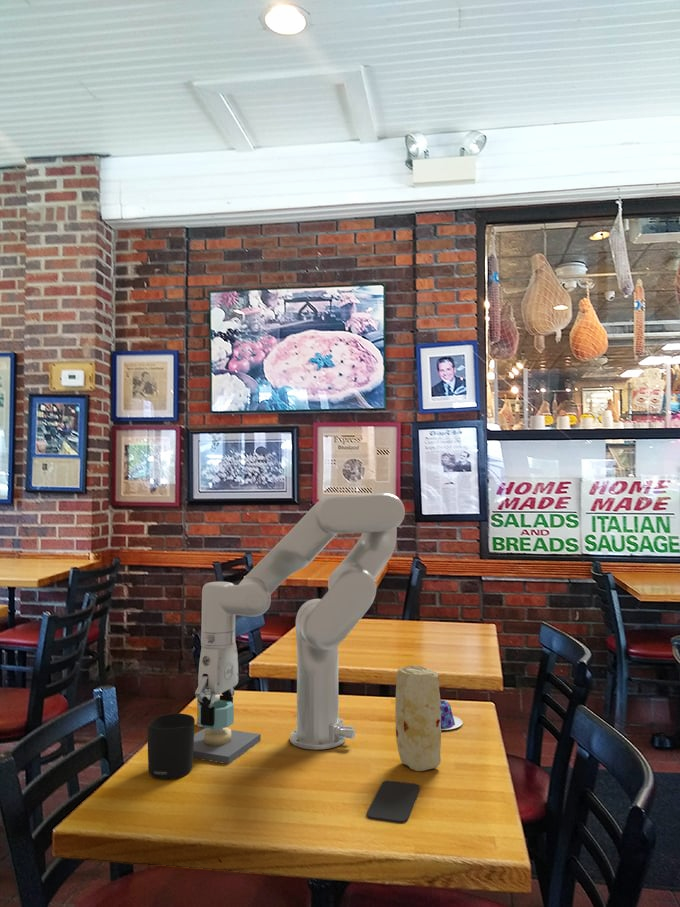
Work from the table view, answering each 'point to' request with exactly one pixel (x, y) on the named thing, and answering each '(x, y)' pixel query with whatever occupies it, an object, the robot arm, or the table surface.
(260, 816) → the table surface
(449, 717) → the pudding
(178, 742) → the pen holder
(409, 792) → the phone
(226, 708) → the ring
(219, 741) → the post stand
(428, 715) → the food model
